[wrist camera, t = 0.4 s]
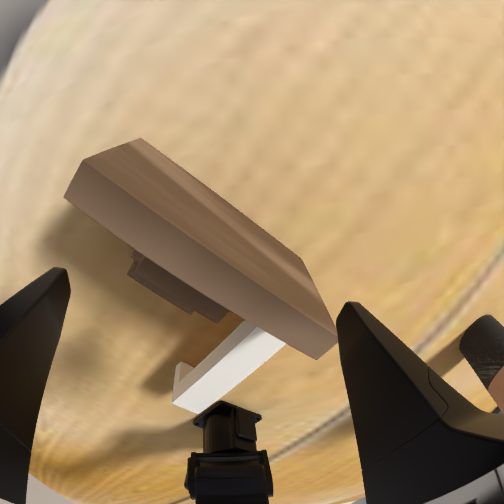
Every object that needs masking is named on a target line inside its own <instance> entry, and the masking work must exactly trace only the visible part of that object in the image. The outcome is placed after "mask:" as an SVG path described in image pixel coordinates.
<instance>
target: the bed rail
mask: <svg viewBox="0 0 504 504" xmlns="http://www.w3.org/2000/svg"><path fill="white" fill-rule="evenodd" d="M285 344H286V343H284V342H283V341H281V340H279V339H277V338H276V337H274V336H272V335H270V334H269V333H267V332H265V331H263V330H262V329H260V328H258V327H257V326H255V325H253V324H252V323H250V322H248V321H246V320H244V321H243V322H242V323H241V324H240V325H239V326H238V327H237V328H236V329H235V330H234V331H233V332H232V333H231V334H230V335H229V336H228V337H227V338H226V339H225V340H223V341H222V342H221V343H220V344H219V345H218V346H217V347H216V348H215V349H214V350H213V351H212V352H211V353H210V354H209V355H208V356H207V357H206V358H205V359H204V360H202V361H201V362H200V363H199V364H198V365H197V366H196V367H195V368H194V367H192V366H190V365H188V364H186V363H184V362H182V361H180V362H179V363H178V364H177V365H176V370H175V378H174V387H173V396H172V404H175V405H177V406H179V407H182V408H184V409H186V410H189V411H191V412H194V413H196V414H200V413H201V412H202V411H204V410H205V409H206V408H208V407H209V406H210V405H212V404H213V403H214V402H216V401H217V400H218V399H219V398H221V397H222V396H223V395H225V394H226V393H227V392H228V391H230V390H231V389H232V388H234V387H235V386H236V385H237V384H239V383H240V382H241V381H242V380H244V379H245V378H246V377H247V376H248V375H250V374H251V373H252V372H253V371H255V370H256V369H257V368H258V367H259V366H261V365H262V364H263V363H264V362H265V361H267V360H268V359H269V358H270V357H271V356H272V355H274V354H275V353H276V352H277V351H278V350H279V349H281V348H282V347H283V346H284V345H285Z"/></svg>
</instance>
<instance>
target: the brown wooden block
mask: <svg viewBox="0 0 504 504" xmlns="http://www.w3.org/2000/svg"><path fill="white" fill-rule="evenodd" d="M64 198H65V199H66V200H68V201H69V202H70V203H72V204H73V205H74V206H76V207H77V208H78V209H80V210H81V211H82V212H84V213H85V214H86V215H88V216H89V217H90V218H92V219H93V220H95V221H96V222H97V223H99V224H100V225H101V226H103V227H104V228H106V229H107V230H108V231H110V232H111V233H113V234H114V235H116V236H117V237H118V238H120V239H121V240H123V241H124V242H125V243H127V244H128V245H130V246H131V247H133V248H134V249H135V250H134V252H133V254H132V256H131V257H132V258H133V259H135V260H134V262H133V264H132V266H131V268H130V270H129V272H128V274H127V275H129V276H130V277H132V278H133V279H135V280H136V281H138V282H139V283H141V284H142V285H144V286H145V287H147V288H148V289H150V290H152V291H153V292H155V293H156V294H158V295H159V296H161V297H163V298H164V299H166V300H167V301H169V302H171V303H172V304H174V305H176V306H177V307H179V308H181V309H182V310H184V311H186V312H187V313H189V314H192V313H193V312H194V311H197V312H198V313H200V314H202V315H203V316H205V317H207V318H208V319H210V320H212V321H214V322H215V323H218V322H219V321H220V320H221V319H222V318H223V316H224V315H225V314H226V313H227V312H228V311H229V310H230V311H232V312H233V313H235V314H236V315H238V316H240V317H241V318H243V319H245V320H246V321H248V322H250V323H252V324H253V325H255V326H257V327H258V328H260V329H262V330H263V331H265V332H267V333H269V334H270V335H272V336H274V337H276V338H277V339H279V340H281V341H283V342H284V343H286V344H288V345H290V346H291V347H293V348H295V349H297V350H299V351H300V352H302V353H304V354H306V355H308V356H309V357H311V358H313V359H315V360H318V359H319V358H320V357H321V356H322V355H324V354H325V353H326V352H327V351H328V350H329V349H331V348H332V347H333V346H334V345H335V344H336V343H338V336H337V329H336V327H335V325H334V323H333V321H332V319H331V317H330V314H329V312H328V310H327V308H326V306H325V304H324V302H323V300H322V298H321V296H320V294H319V292H318V290H317V288H316V286H315V284H314V282H313V280H312V278H311V276H310V274H309V272H308V270H307V268H306V266H305V264H304V263H303V261H302V259H301V258H300V257H298V256H297V255H296V254H294V253H293V252H292V251H291V250H289V249H288V248H287V247H285V246H284V245H283V244H282V243H280V242H279V241H278V240H276V239H275V238H274V237H273V236H271V235H270V234H269V233H267V232H266V231H265V230H264V229H262V228H261V227H260V226H258V225H257V224H256V223H254V222H253V221H252V220H251V219H249V218H248V217H247V216H245V215H244V214H243V213H241V212H240V211H239V210H237V209H236V208H235V207H233V206H232V205H231V204H230V203H228V202H227V201H226V200H224V199H223V198H222V197H220V196H219V195H218V194H216V193H215V192H214V191H212V190H211V189H210V188H208V187H207V186H206V185H204V184H203V183H202V182H200V181H199V180H198V179H196V178H195V177H194V176H192V175H191V174H189V173H188V172H187V171H185V170H184V169H183V168H181V167H180V166H179V165H177V164H176V163H175V162H173V161H172V160H171V159H169V158H168V157H166V156H165V155H164V154H162V153H161V152H160V151H158V150H157V149H155V148H154V147H153V146H151V145H150V144H149V143H147V142H146V141H144V140H143V139H142V138H140V139H137V140H134V141H131V142H128V143H125V144H122V145H120V146H117V147H114V148H111V149H109V150H106V151H104V152H101V153H98V154H96V155H93V156H91V157H89V158H86V159H84V160H83V161H82V162H81V164H80V166H79V168H78V170H77V172H76V173H75V175H74V177H73V179H72V181H71V183H70V185H69V187H68V189H67V191H66V193H65V195H64Z"/></svg>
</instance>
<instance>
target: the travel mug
mask: <svg viewBox="0 0 504 504" xmlns="http://www.w3.org/2000/svg"><path fill="white" fill-rule="evenodd" d="M460 351H461V352H462V354H463V355H464V357H465V358H466V360H467V361H468V363H469V364H470V365H471V367H472V368H473V370H474V371H475V373H476V374H477V376H478V377H479V379H480V380H481V382H482V383H483V385H484V386H485V388H486V389H487V391H488V392H489V394H490V395H491V397H492V398H493V399H494V401H495V402H496V404H497V405H498V407H499V408H500V410H501V411H502V412H503V414H504V327H503V326H502V325H501V324H500V323H499V322H498V321H497V320H496V319H495V318H494V317H493V316H491V315H485V316H482V317H481V318H479V319H478V320H477V321H475V322H474V323H473V324H472V325H471V326H470V328H469V329H468V330H467V331H466V333H465V334H464V336H463V338H462V340H461V343H460Z"/></svg>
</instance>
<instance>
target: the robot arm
mask: <svg viewBox="0 0 504 504" xmlns="http://www.w3.org/2000/svg"><path fill="white" fill-rule="evenodd" d="M70 294H71V288H70V283H69V278H68V273H67V271H66V269H64V268H59V267H54V268H52V269H50V270H49V271H47V272H46V273H44V274H43V275H42V276H40V277H39V278H37V279H36V280H34V281H33V282H31V283H30V284H29V285H27V286H26V287H24V288H23V289H22V290H20V291H19V292H17V293H16V294H15V295H13V296H12V297H11V298H9V299H8V300H7V301H5V302H4V303H3V304H1V305H0V498H1V499H3V500H6V501H9V502H11V503H14V504H26V491H27V480H28V473H29V465H30V458H31V450H32V445H33V439H34V434H35V428H36V423H37V419H38V414H39V410H40V405H41V401H42V397H43V393H44V389H45V385H46V382H47V378H48V375H49V371H50V368H51V364H52V361H53V358H54V354H55V351H56V348H57V345H58V342H59V339H60V335H61V331H62V327H63V323H64V318H65V314H66V310H67V306H68V302H69V299H70ZM336 328H337V336H338V344H339V353H340V360H341V366H342V371H343V376H344V380H345V385H346V389H347V394H348V399H349V404H350V409H351V414H352V419H353V424H354V429H355V434H356V440H357V445H358V451H359V457H360V463H361V469H362V476H363V482H364V489H365V496H366V503H367V504H504V414H495V413H488V412H485V411H482V410H480V409H478V408H477V407H475V406H474V405H473V404H472V403H471V402H469V401H468V400H467V399H466V398H464V397H463V396H462V395H461V394H460V393H458V392H457V391H456V390H455V389H454V388H452V387H451V386H450V385H449V384H448V383H446V382H445V381H444V380H443V379H442V378H441V377H440V376H439V375H437V374H436V373H435V372H434V371H433V370H432V369H431V368H430V367H429V366H427V364H426V363H425V362H424V361H422V360H421V359H420V358H419V357H418V356H417V355H416V354H415V353H414V352H413V351H412V350H411V349H410V348H408V347H407V346H406V345H405V344H404V343H403V342H402V341H401V340H400V339H399V338H398V337H396V336H395V335H394V334H393V333H392V332H391V331H390V330H389V329H388V328H387V327H385V326H384V325H383V324H382V323H381V322H380V321H379V320H378V319H377V318H375V317H374V316H373V315H372V314H371V313H370V312H369V311H368V310H367V309H365V308H364V307H363V306H362V305H361V304H360V303H358V302H351V301H348V302H346V303H345V305H344V306H343V308H342V310H341V312H340V314H339V315H338V317H337V320H336ZM261 419H262V417H261V415H259V414H256V413H254V412H251V411H248V410H246V409H243V408H240V407H238V406H235V405H233V404H230V403H228V402H225V401H220V402H218V403H217V404H216V405H214V406H213V407H212V408H210V409H209V410H208V411H206V412H205V413H204V414H202V415H201V416H199V417H198V418H197V419H195V420H194V421H193V424H194V425H195V426H198V427H201V428H203V453H196V452H191V457H190V458H188V468H187V474H186V478H185V482H184V487H185V488H186V489H187V490H188V491H189V494H190V496H191V499H192V500H196V504H269V500H268V497H273V481H272V474H271V470H270V465H269V461H268V456H267V451H266V450H261V451H257V449H256V441H257V436H256V428H255V424H256V423H257V422H259V421H260V420H261Z"/></svg>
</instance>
